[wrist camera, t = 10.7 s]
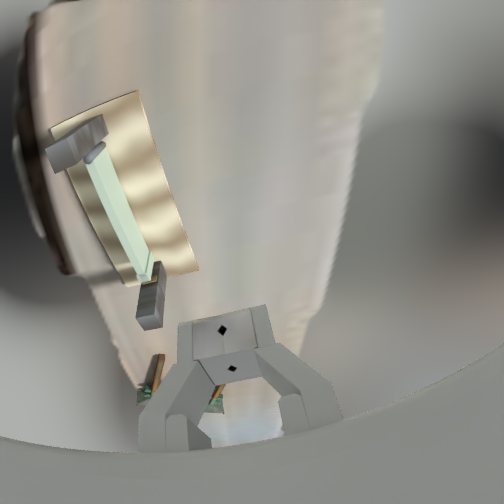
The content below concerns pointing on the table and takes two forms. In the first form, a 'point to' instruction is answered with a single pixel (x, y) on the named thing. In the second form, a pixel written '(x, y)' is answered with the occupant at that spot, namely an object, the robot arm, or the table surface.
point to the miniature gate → (144, 396)
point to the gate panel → (119, 210)
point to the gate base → (127, 194)
